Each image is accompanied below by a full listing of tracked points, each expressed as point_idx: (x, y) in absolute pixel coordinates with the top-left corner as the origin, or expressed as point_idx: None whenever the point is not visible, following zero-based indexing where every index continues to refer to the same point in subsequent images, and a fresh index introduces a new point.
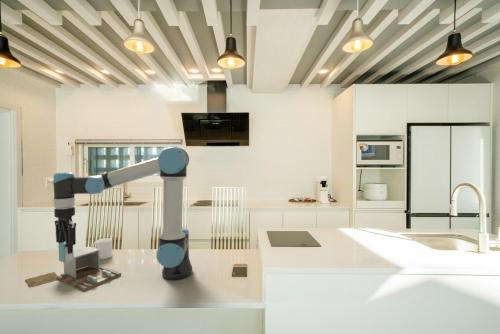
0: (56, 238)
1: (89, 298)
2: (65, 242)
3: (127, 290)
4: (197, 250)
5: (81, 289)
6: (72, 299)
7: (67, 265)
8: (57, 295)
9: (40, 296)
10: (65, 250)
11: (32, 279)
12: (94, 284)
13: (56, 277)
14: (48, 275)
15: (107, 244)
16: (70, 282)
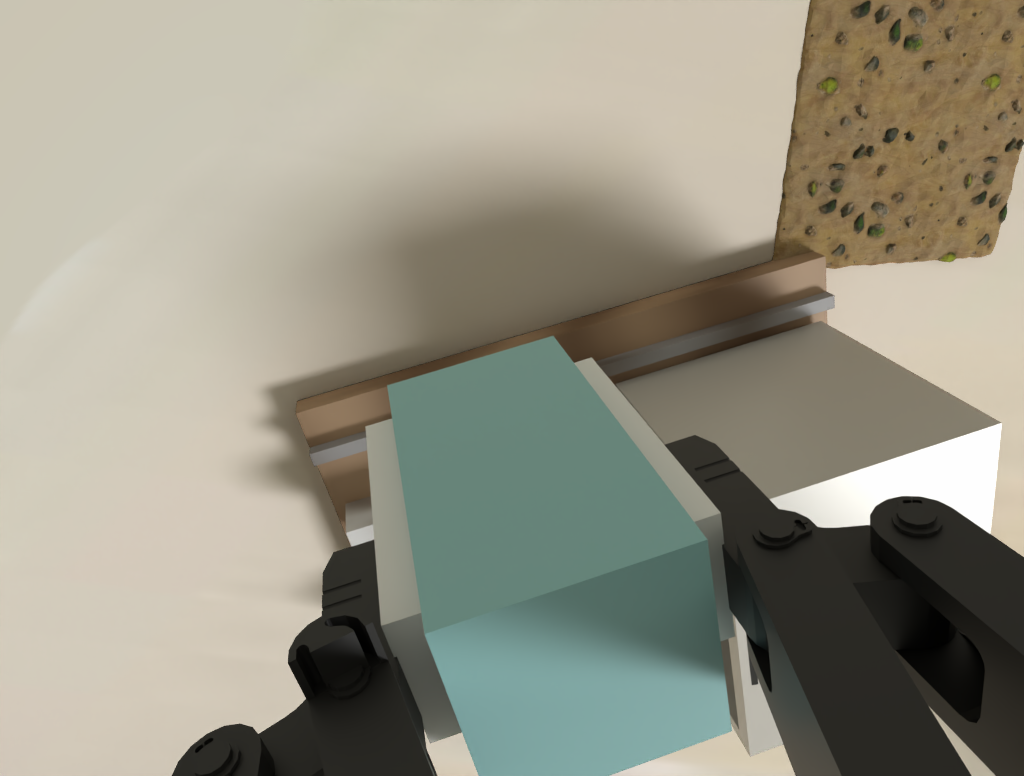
0: (996, 564)
1: (77, 408)
2: (587, 682)
3: (34, 682)
4: None
5: (352, 385)
6: (167, 279)
7: (812, 386)
8: (384, 178)
9: (494, 30)
10: (398, 550)
11: (995, 44)
12: (332, 498)
13: (832, 248)
14: (949, 195)
15: (971, 769)
16: (561, 333)
